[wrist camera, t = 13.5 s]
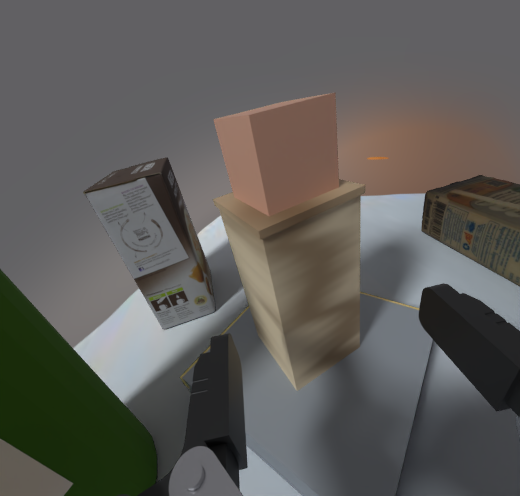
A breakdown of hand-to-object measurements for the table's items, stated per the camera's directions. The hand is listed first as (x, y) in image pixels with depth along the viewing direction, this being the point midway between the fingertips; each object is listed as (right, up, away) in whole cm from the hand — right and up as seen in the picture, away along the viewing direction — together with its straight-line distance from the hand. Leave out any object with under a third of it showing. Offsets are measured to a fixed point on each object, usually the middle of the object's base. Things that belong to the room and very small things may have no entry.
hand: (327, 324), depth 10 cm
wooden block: (+1, -4, +9) cm, 10 cm away
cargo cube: (-2, +6, +3) cm, 7 cm away
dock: (+2, -7, +10) cm, 12 cm away
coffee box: (-12, -3, +22) cm, 25 cm away
